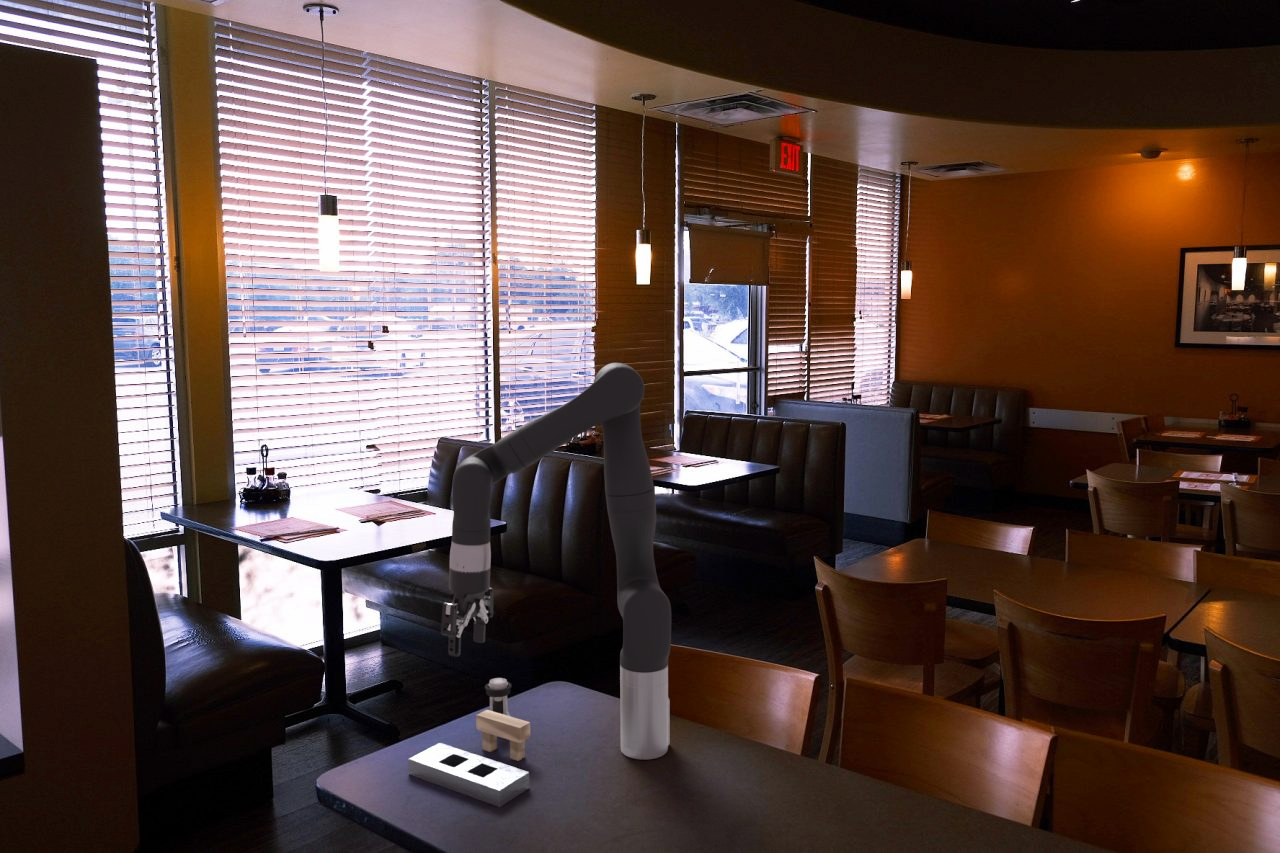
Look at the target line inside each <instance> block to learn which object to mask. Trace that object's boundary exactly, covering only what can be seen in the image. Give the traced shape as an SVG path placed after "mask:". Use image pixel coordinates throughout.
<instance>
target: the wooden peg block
mask: <svg viewBox="0 0 1280 853" xmlns="http://www.w3.org/2000/svg"><path fill="white" fill-rule="evenodd" d="M475 720H476V722H475V723H476V730H477V731H479V732H482V733H481V734H482V736H481V737H482V742H481V743H482V744H481V745H482V751H486V752H489V753H492V752H493V751H495V750H497V749H498V737H499V738H502V739H505V740H508V741H509V759H511V760H513V761H515V762H516V761H517V762H519V761H521V760H523V759H524V758H525V757H526V741H527V740H528V739H530V738H531V722H530V721H526V720H524V719H520V718H517V717H513V716H511V717H510V716H507V715H503V714H500V713H497V712H493V711H490V709H484V710H483V711H481V712H480V713H478V714H477V713H476V715H475ZM522 758H523V759H522Z"/></svg>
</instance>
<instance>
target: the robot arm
mask: <svg viewBox="0 0 1280 853" xmlns="http://www.w3.org/2000/svg"><path fill="white" fill-rule="evenodd" d="M593 379H594V380H593V383H592V384H590V385H588V387H586V389H584V390H583V391H582V392H581V393H580V394H578V395H577V396H575V397H573V398H572V399H570V400H569V401H567V402H565V403H564V404H562V405H561V406H559V407H557V408H555V409H552V410H551V411H549V412H545V413H544V414H542V415H540V416H538V417H536V418H534V419H532V420H530V421H528V422H526V423H524V424H523V425H521V426H520V427H518V428H516V429H514V430H512V431H511V432H510V433H508V434H507V435H504V436H503V437H502V438H501V439H499V440H498V441H497V442H495V443H493V444H491V445H488V446H487V447H485V448H483V449H481V450H479V451H477V452H475V453H473V454H471V455H470V456H468V457H466V458H465V459H463V460H462V461H461V462H459V464H458V465H457V467H456V469H455V471H454V473H453V477H452V506H453V509H452V510H453V515H452V516H453V517H452V526H451V527H452V528H451V546H450V551H449V573H448V589H449V590H450V591H451V592H452V593H453V594H454V595H453V599H452V602H443V604H442V612H441V625H440V634H441V635H442V636H446V637H447V638H448V641H447V643H448V645H447V652H448V656H451V657H456V658H457V657H460V656H461V651H462V649H461V647H462V636H461V635H462V633H463V630H464V629H465V627H467V626H468V624H469V622H470V620H472V618H473V620H474V622H473V638H472V639H473V642H474V643H478V644H484V643H485V641H486V630H487V629H486V628H487V627H486V624H488V622H489V618H490V619H492V618H493V617H494V588H493V587H490V586H491V564H492V563H491V561H492V560H491V558H492V555H491V554H492V552H491V528H492V526H491V525H492V524H491V522H492V521H491V516H490V506H491V495H492V494H491V492H492V486H493V485H495V484H496V483H498V482H499V481H502V480H503V479H504V478H506V477H508V476H509V475H511V474H517V473H519V472H522V471H523V470H525V469H526V468H528V467H530V466H531V465H534V464H535V463H536V462H538V461H539V460H541V459H543V458H544V457H545V456H547V455H549V454H551V453H552V452H554V451H555V450H557V449H558V448H560V447H561V446H563V445H564V444H566V443H568V442H569V441H571V440H572V439H574V438H575V437H578V436H579V435H581V434H582V433H584V432H587V431H588V430H590V429H593V428H594V427H596V426H598V425H601V429H602V435H603V436H602V437H603V468H604V469H603V475H604V490H605V491H604V492H605V499H606V508H607V515H608V520H609V521H608V522H609V527H610V532H611V537H612V542H613V546H614V552H615V559H616V577H617V578H616V579H617V580H616V584H617V585H616V586H617V588H616V589H617V591H616V593H617V597H616V598H617V599H616V600H617V601H616V602H617V608H618V611H619V614H620V616H621V617H622V620H623V621H622V622H623V624H622V625H623V627H622V630H623V632H622V648H621V650H620V653H619V670H620V671H619V672H620V673H619V675H620V676H619V680H620V681H619V683H620V684H619V685H620V695H619V696H620V700H619V701H620V702H619V703H620V704H619V705H620V710H619V711H620V713H619V714H620V751H621V753H622V754H623V755H624V756H626V757H628V758H630V759H634V760H644V761H645V760H653V759H658V758H660V757H663V756H664V755H665V754H667V752H668V749H669V746H670V743H671V742H670V738H671V737H670V727H671V726H670V721H671V719H670V716H671V715H670V710H671V709H670V707H671V704H670V702H671V701H670V698H669V656H670V652H671V646H672V607H671V602H670V599H669V598H668V596H667V595H666V593H664V591H663V590H662V588H661V586H660V582H659V579H658V575H657V570H656V564H655V557H654V541H655V533H656V526H657V524H656V523H657V504H656V494H655V486H654V480H653V475H652V474H653V473H652V471H651V470H652V469H651V466H650V462H649V457H648V454H647V450H646V446H645V444H644V443H645V442H644V440H643V434H642V427H641V426H642V424H641V403H642V401H643V399H644V395H645V388H646V387H645V384H644V379H643V378H642V376H641V375H640V374H639V372H638V371H637V370H635V369H634V368H633V367H632V366H629V365H628V364H625V363H622V362H611V363H608V364H606V365H604V366H603V367H602V368H601V369H599V371H598V372H597V373H596V375H595V377H594V378H593ZM486 606H487V609H486ZM448 624H449V625H448Z"/></svg>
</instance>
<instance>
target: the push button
mask: <svg viewBox="0 0 1280 853" xmlns="http://www.w3.org/2000/svg"><path fill="white" fill-rule="evenodd" d="M511 689H512V683H511V682H509V681H508V679H506V678H503V677H495V678H491V679H489V682H487V683H486V684H485V686H484V690H485V692H486V695H487V696H489V710H490V711H493V712H497V713H500V714H503V715H507V716H510V717H512V715H511V714H510V712H509V711H508V695H509V694H511Z"/></svg>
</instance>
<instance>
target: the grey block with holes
mask: <svg viewBox="0 0 1280 853" xmlns="http://www.w3.org/2000/svg"><path fill="white" fill-rule="evenodd" d="M409 774H410V776H413V777H415V778H417V779H420V778H421V780H424V781H426V782H429V783H431V784H435V785H437V786H440V787H442V788H444V789H445V788H446V789H448V790H451V791H454V792H457V793H459V794H463V795H464V796H467V797H471V798H473V799H476V800H479V801H481V802H484V803H487V804H490V805H492V806H494V807H498V808H501V807H502V806H504V805H505V804H507V803H508V802H510V801H512V800H513V799H515V798H516V797H519V795H521V794H523V793H525V792H526V791H527V790H529V789H530V772H529V771H527V770H523V769H520V768H517V767H515V766H511V765H508V764H506V763H503V762H500V761H496V760H494V759H491V758H488V757H484V756H481V755H478V754H475V753H472V752H469V751H466V750H463V749H460V748H456V747H453V746H451V745H448V744H445V743H443V742H438V743H436V744H435V745H433V746H430V747H428V748H427V749H425V750H423V751H421V752H419V753H417V754H414V755H413V756H411V757H409V758H408V775H409Z"/></svg>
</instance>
